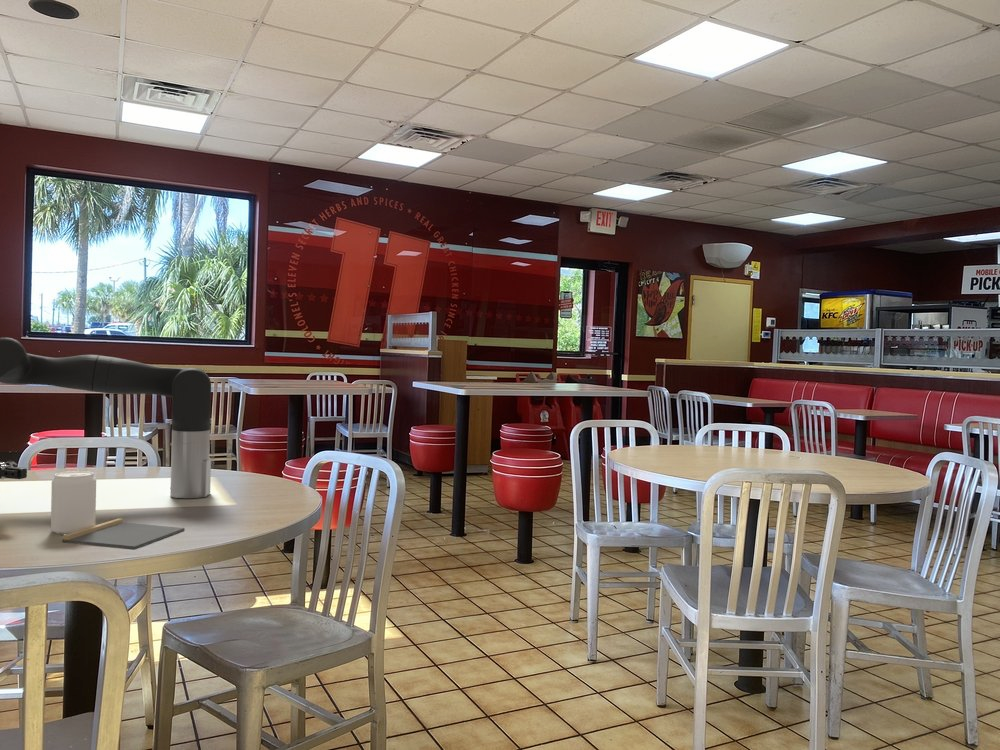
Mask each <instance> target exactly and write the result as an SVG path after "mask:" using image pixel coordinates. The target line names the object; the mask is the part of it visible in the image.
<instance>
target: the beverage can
mask: <svg viewBox="0 0 1000 750" xmlns="http://www.w3.org/2000/svg"><path fill="white" fill-rule="evenodd" d="M50 503H51V504H50V506H51V507H50V530H51V532H53V533H56V534H58V535H63V534H69V533H72V532H75V531H79V530H82V529H85V528H89V527H92V526H95V525H96V520H97V519H96V517H97V516H96V511H97V510H96V509H97V508H96V507H97V505H96V504H97V477H96V476H95V475H94V472H92V471H88V470H87V471H86V470H78V471H77V470H71V471H70V470H69V471H61V472H58V473H54V477H53V479H52V480H51V501H50Z"/></svg>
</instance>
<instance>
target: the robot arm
mask: <svg viewBox="0 0 1000 750" xmlns="http://www.w3.org/2000/svg"><path fill="white" fill-rule="evenodd" d="M0 383H2V384H6V385H8V384H9V385H34V386H35V385H36V386H50V387H51V386H52V387H59V388H65V389H71V390H72V389H73V390H78V391H79V390H80V391H87V392H96V393H102V394H110V395H111V394H112V395H145V394H146V395H158V396H164V397H169V398H171V449H170V450H171V451H170V452H171V455H170V456H171V458H170V459H171V460H170V462H171V463H170V492H169V493H170V497H172V498H174V499H175V498H176V499H198V498H207V497H208V496H209V495H210V493H211V481H212V479H211V477H212V476H211V474H212V471H211V470H212V458H211V457H210V449H211V448H210V447H211V446H210V444H211V443H210V440H211V437H210V436H211V405H212V404H211V402H212V380H211V378H210V376H209V375H208V374H207V373H206V372H205V371H204V370H202V369H200V368H198V367H165V366H157V365H151V364H147V363H143V362H139V361H135V360H131V359H130V360H129V359H125V358H120V357H114V356H105V355H100V354H82V355H81V354H80V355H75V356H74V355H73V356H64V357H50V356H42V355H37V354H31V353H27V350H26V349H25V347H24V346H23V344H22V343H21V342H20V341H18V340H17V339H14V338H12V337H0ZM27 476H28V469H27V468H26V467H21V466H20V467H19V466H18V463H16V462H15V461H14V460H13V461H12V460H9V461H6V462H3V461H0V480H5V479H13V480H23V479H27Z"/></svg>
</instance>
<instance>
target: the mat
mask: <svg viewBox="0 0 1000 750" xmlns="http://www.w3.org/2000/svg"><path fill="white" fill-rule="evenodd" d="M185 530H186V529H185V527H178V526H167V525H165V526H164V525H155V524H146V523H145V524H144V523H143V524H142V523H135V522H134V523H133V522H124V518H118V517H117V518H115V519H112V520H108V521H105V522H102V523H99V524H95V526H92V527H89V528H85V529H82V530H79V531H75V532H72V533H69V534H66V535H63V534H62V543H68V542H69V543H70V544H71V543H72V544H79V543H80V544H79V545H89V546H90V545H92V546H101V547H102V546H103V547H111V548H122V549H129V550H130V549H131V550H137V549H139V548H141V547H143V546H146V545H149V544H152V543H154V542H157V541H160V540H163V539H165V538H167V537H171V536H173V535H176V534H178V533H181V532H184V531H185Z"/></svg>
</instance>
